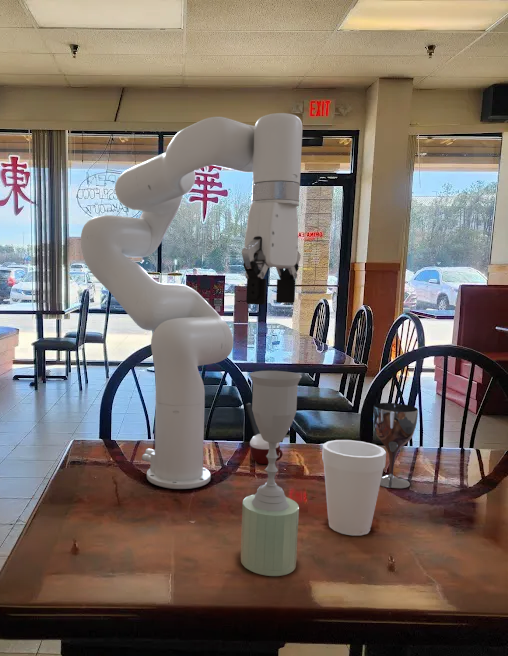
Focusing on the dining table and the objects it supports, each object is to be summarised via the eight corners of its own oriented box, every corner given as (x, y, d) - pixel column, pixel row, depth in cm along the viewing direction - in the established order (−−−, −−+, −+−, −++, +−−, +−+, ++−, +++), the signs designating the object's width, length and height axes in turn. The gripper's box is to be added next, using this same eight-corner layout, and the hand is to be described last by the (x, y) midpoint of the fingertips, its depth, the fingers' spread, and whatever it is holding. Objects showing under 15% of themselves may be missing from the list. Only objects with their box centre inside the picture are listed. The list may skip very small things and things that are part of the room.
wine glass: (404, 475, 116) (409, 403, 114) (418, 490, 108) (424, 412, 106) (364, 473, 117) (369, 402, 115) (375, 487, 109) (380, 411, 107)
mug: (297, 579, 75) (300, 517, 74) (239, 572, 77) (241, 512, 76) (293, 543, 86) (295, 488, 85) (242, 538, 87) (244, 484, 86)
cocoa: (287, 467, 120) (289, 411, 119) (259, 469, 119) (262, 413, 117) (266, 453, 129) (268, 402, 128) (241, 455, 128) (243, 403, 126)
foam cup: (349, 544, 85) (354, 460, 84) (306, 521, 93) (310, 444, 92) (393, 532, 90) (399, 452, 88) (348, 511, 98) (353, 437, 96)
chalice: (284, 518, 74) (291, 381, 72) (236, 506, 77) (241, 376, 75) (302, 500, 80) (308, 373, 78) (257, 490, 84) (261, 369, 81)
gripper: (280, 204, 101) (276, 301, 103) (226, 192, 88) (222, 303, 90) (320, 201, 96) (315, 303, 98) (269, 187, 83) (264, 306, 85)
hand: (271, 303), depth 94 cm, fingers open, 9 cm apart
